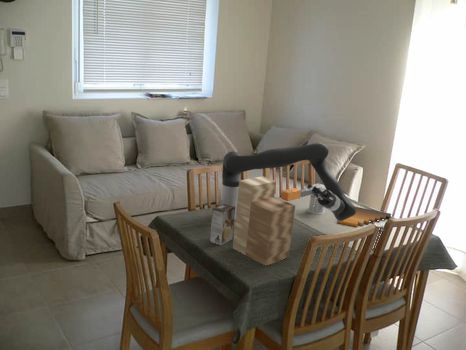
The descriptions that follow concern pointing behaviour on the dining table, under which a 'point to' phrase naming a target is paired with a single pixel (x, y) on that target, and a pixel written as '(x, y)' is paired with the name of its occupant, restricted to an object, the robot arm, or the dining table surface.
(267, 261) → the stand
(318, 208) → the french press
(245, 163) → the robot arm
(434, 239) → the dining table surface
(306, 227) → the dining table surface
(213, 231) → the coffee box
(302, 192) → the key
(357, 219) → the pan flute
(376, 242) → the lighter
